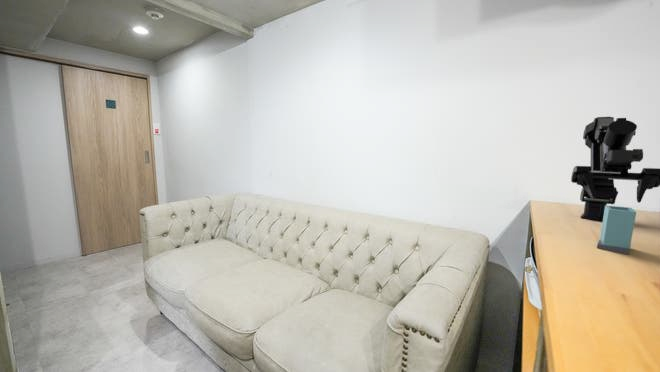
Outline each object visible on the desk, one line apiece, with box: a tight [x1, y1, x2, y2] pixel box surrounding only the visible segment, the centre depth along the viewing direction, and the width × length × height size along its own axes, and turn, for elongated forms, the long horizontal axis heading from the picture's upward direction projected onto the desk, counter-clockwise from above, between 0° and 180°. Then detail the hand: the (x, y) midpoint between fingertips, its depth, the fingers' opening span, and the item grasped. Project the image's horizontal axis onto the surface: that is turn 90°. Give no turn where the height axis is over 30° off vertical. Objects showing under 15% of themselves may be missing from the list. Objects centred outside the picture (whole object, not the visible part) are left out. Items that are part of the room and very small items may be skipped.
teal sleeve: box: [599, 204, 637, 250], centre depth 75 cm, size 5×5×10 cm
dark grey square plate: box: [596, 239, 632, 256], centre depth 75 cm, size 6×6×4 cm
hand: (615, 199), depth 78 cm, fingers open, 9 cm apart
